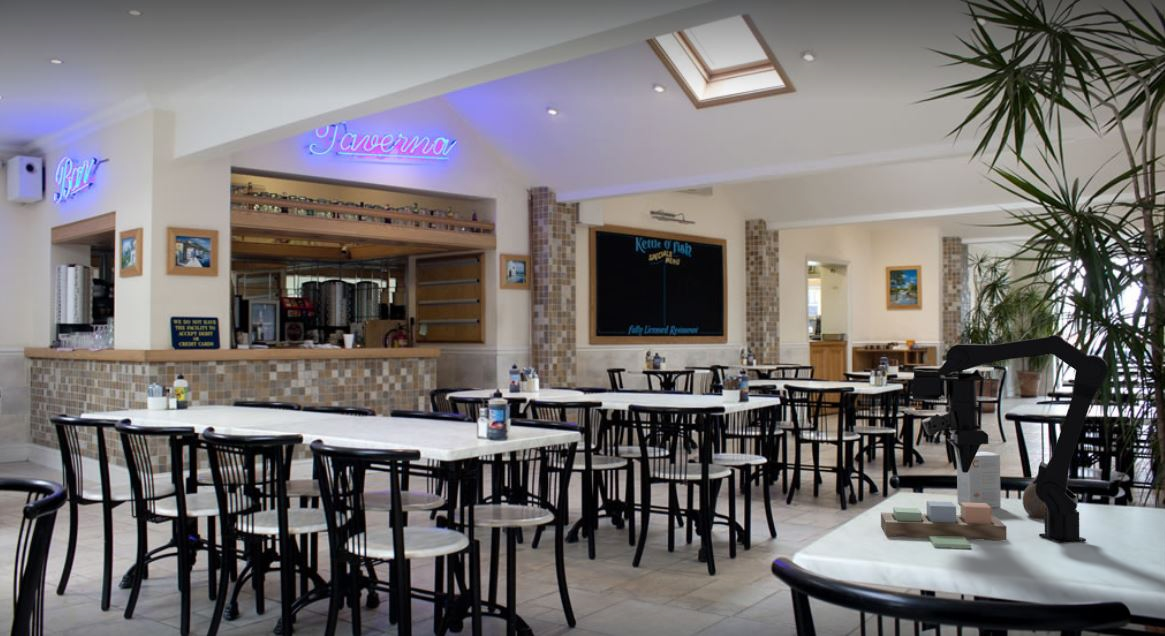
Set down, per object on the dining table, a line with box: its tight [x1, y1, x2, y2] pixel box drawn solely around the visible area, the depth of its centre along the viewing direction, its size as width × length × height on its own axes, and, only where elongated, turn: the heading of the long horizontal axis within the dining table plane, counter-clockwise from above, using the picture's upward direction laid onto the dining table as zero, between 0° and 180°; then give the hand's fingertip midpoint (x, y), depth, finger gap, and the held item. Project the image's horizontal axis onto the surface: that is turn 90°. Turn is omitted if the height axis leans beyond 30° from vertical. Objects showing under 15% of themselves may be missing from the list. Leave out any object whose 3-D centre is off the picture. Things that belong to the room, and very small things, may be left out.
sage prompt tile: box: [928, 536, 972, 549], centre depth 191 cm, size 7×7×1 cm
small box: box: [956, 451, 1002, 509], centre depth 229 cm, size 8×6×13 cm
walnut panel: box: [880, 512, 1007, 541], centre depth 200 cm, size 24×10×3 cm, turn 78°
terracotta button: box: [960, 502, 992, 524], centre depth 199 cm, size 5×5×4 cm
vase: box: [1022, 477, 1047, 519], centre depth 217 cm, size 7×7×9 cm
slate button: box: [926, 500, 957, 523], centre depth 200 cm, size 5×5×4 cm
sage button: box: [892, 506, 923, 521], centre depth 202 cm, size 5×5×4 cm
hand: (964, 472), depth 203 cm, fingers closed
